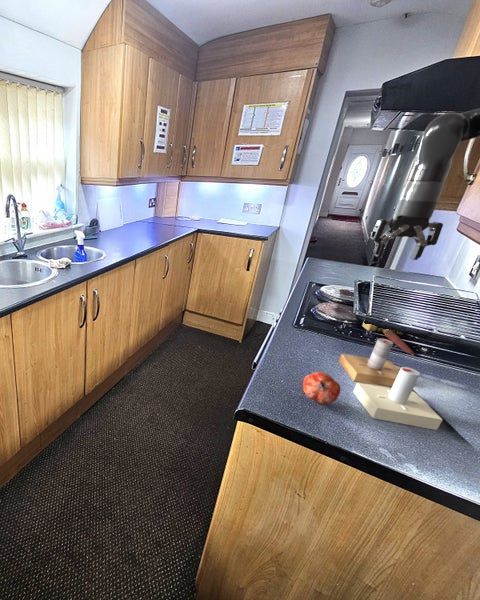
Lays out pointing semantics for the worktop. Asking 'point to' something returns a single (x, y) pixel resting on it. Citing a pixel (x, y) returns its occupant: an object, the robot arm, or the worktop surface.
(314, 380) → the pomegranate
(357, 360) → the brown wooden block
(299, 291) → the worktop surface
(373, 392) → the cream base plate
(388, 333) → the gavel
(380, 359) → the rod
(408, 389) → the rod
